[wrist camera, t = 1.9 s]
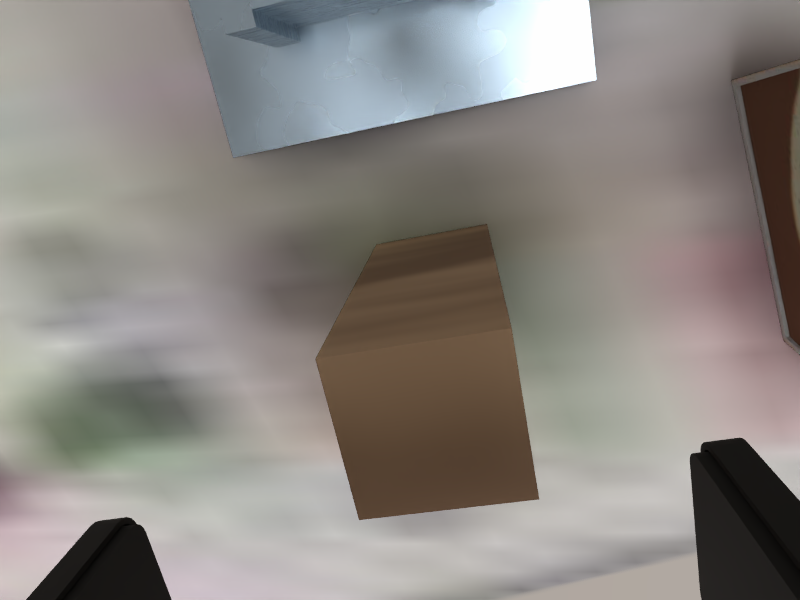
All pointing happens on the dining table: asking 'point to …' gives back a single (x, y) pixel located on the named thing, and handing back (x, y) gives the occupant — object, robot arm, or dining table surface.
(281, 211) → the dining table surface
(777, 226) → the food container
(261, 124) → the cup bracket
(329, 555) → the dining table surface
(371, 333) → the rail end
